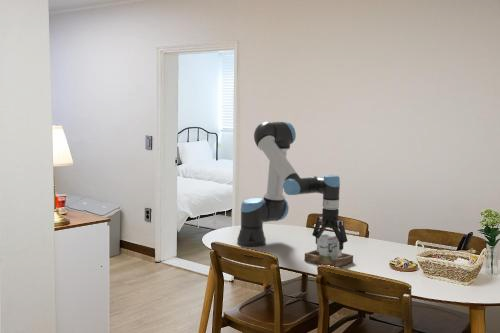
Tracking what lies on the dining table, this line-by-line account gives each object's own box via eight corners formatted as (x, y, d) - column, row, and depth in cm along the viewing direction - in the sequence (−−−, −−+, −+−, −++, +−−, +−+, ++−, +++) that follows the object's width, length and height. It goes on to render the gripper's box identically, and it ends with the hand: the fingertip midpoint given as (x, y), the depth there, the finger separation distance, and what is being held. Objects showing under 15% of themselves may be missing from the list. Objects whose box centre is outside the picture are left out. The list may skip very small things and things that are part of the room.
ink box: (326, 262, 245) (326, 237, 244) (318, 259, 249) (319, 235, 248) (338, 259, 251) (339, 234, 250) (330, 256, 255) (331, 232, 253)
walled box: (304, 260, 251) (304, 253, 251) (321, 254, 261) (321, 247, 261) (336, 268, 239) (336, 261, 238) (352, 262, 249) (353, 255, 249)
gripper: (305, 205, 252) (304, 250, 255) (347, 213, 236) (345, 260, 239) (315, 203, 258) (313, 247, 260) (356, 210, 242) (354, 257, 244)
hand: (328, 253), depth 250 cm, fingers open, 11 cm apart
